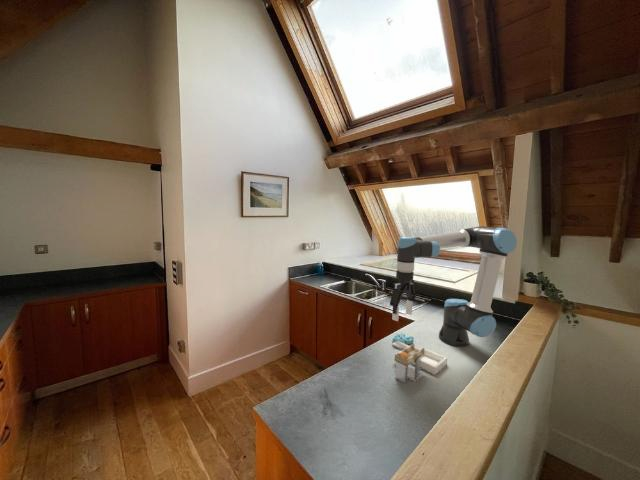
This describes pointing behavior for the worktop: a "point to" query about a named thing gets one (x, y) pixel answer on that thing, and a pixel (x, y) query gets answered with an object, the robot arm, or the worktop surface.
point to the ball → (404, 355)
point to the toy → (403, 339)
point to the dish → (432, 362)
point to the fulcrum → (408, 372)
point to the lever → (411, 352)
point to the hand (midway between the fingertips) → (402, 316)
